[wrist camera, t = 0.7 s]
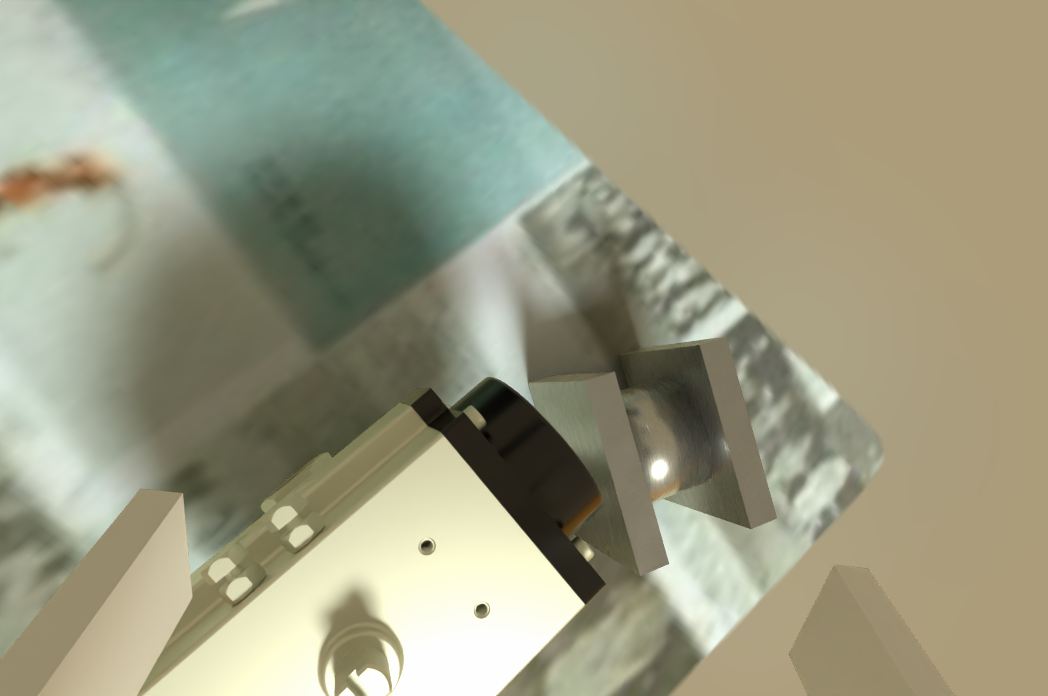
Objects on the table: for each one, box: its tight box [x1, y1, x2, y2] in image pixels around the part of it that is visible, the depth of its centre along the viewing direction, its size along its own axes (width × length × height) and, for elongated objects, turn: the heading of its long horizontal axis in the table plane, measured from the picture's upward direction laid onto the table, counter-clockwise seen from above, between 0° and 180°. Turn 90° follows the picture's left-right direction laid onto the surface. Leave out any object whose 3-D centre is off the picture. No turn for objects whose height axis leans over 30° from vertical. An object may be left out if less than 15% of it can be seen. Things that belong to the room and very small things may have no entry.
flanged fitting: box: [528, 337, 777, 576], centre depth 33 cm, size 9×8×9 cm
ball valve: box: [137, 377, 606, 696], centre depth 25 cm, size 18×8×18 cm, turn 130°
